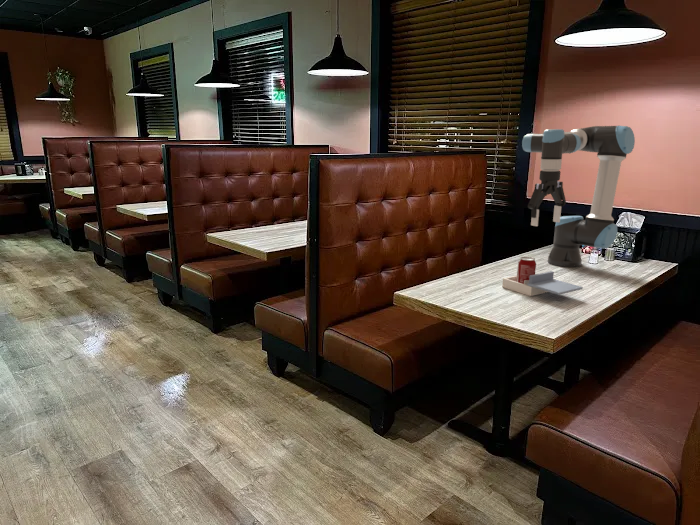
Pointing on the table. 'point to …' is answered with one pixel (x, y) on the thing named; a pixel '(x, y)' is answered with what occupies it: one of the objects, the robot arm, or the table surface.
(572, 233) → the robot arm
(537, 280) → the lid
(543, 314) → the table surface
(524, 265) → the soda can
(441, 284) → the table surface
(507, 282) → the mailer box
